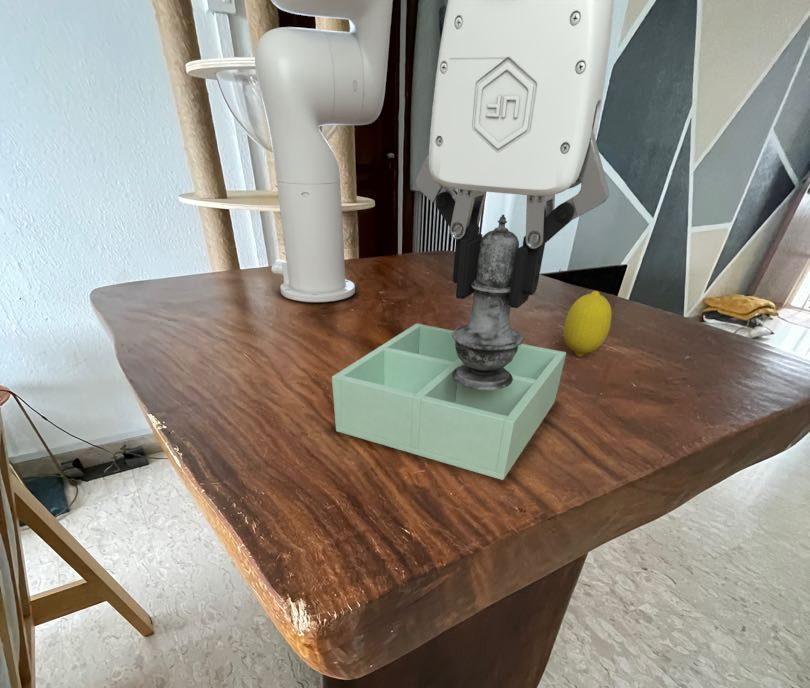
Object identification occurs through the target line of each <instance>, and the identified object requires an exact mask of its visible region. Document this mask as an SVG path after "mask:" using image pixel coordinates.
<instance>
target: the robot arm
mask: <svg viewBox="0 0 810 688" xmlns="http://www.w3.org/2000/svg"><path fill="white" fill-rule="evenodd" d="M393 1H394V0H270V2H271V3H272V4H273V5H274V6H275V7H276V8H278V9H279V10H281V11H283V12H287V13H288V14H289V13H290V14H294V15H299V16H300V15H301V16H307V17H315V18H316V17H317V18H328V19H337V20H338V19H339V20H348V21H349V31H340V30H339V31H338V30H327V29H321V28H320V29H319V28H307V27H295V26H285V27H284V26H282V27H275V28H273V29H270V30H268V31H266V32H265V33H264V34H263V35H262V36H261V37H260V38H259V40H258V41H257V44H256V47H255V52H254V66H255V75H256V79H257V84H258V88H259V93H260V97H261V100H262V105H263V108H264V114H265V118H266V121H267V127H268V132H269V138H270V144H271V149H272V157H273V164H274V172H275V179H276V187H277V196H278V203H279V205H278V206H279V212H280V220H281V229H282V237H283V244H284V253H285V259H280V258H279V259H278V258H277V259H275V261H274V263H273V265H271V273H272V274H273V275H281V276H282V277H283V282H282V283H281V284H280V286H279V288H280V294H281V295H282V296H283V297H284V298H286V299H289V300H291V301H296V302H302V303H330V302H338V301H341V300H346V299H348V298H351V297H352V296H353V295H354V294H355V293H356V285H355V283H354V282H353V281H351V280H349V279H346V266H345V265H346V264H345V245H344V226H343V208H342V191H341V187H342V186H341V172H340V171H341V170H340V165H339V161H338V158H337V156H336V153H335V151H334V150H333V148H332V146H331V145H330V144H329V142H328V141H327V138H326V137H325V136H324V134H323V133H322V131H321V129H320V127H322V126H364V125H365V126H366V125H369V124H373V123H374V122H375V121H376V120H377V119H378V118H379V116H380V115H381V112H382V109H383V106H384V101H385V100H384V99H385V94H386V83H387V74H388V73H387V72H388V61H389V51H390V49H389V48H390V37H391V36H390V35H391V25H392V13H393ZM614 5H615V0H447V3H446V9H445V14H444V20H443V21H444V22H443V25H442V31H441V39H440V44H439V51H438V58H437V64H436V65H437V66H436V73H435V81H434V82H435V83H434V91H433V99H432V111H431V120H430V121H431V122H430V132H429V149H428V153H427V155H426V157H425V159H424V161H423V163H422V165H421V166H420V168H419V171H418V173H417V174H416V176H415V187H416V188H417V189H418V190H419V191H420V192H421V193H422V194H423V195H424V196H425V198H427V199H428V200H429V201H430V202H431V203H433V204H434V205H436V208H437V210H438V211H439V213H440V215H441V216H442V218H443V220H444V221H445V222H446V224H447V225H448V227H449V232H450V233H449V234H450V236H451V237H452V238H453V239H454V240H455V244H454V245H455V246H454V247H455V248H454V256H453V257H454V259H453V268H452V269H453V271H452V281H453V283H454V284H456V290H455V298H456V299H460V300H464V299H466V298H468V297H469V296H471V295H473V294H474V289H473V288H472V287H471V283H472V282H473V281H474V280H476V276H477V267H478V258H479V248H480V242H481V239H482V237H483V234H482V233H480V228H481V227H480V222H481V218H482V213H483V210H484V206H485V200H486V196H487V193H495V194H496V193H497V194H508V195H509V194H510V195H519V196H521V195H522V196H526V207H525V208H526V209H525V211H526V212H525V213H526V214H525V235H524V236H523V238H522V239H523V240H522V245H521V246H519V248H518V249H517V251H516V256H515V263H514V269H513V276H512V283H511V289H510V296H509V305H510V306H511V308H513V309H519V308H520V307H521V306H523V304H525V303H526V302H527V301H528V300H529V297H530V296H534V295H535V294H536V292H537V289H538V284H539V280H540V274H541V268H542V264H543V258H544V252H545V247H546V244H547V242H549V241H550V240H551V239H552V238H554V236H555V235H557V234H558V233H559V232H560V231H561V230H562V229H563V228H564V227H566V226H567V225H568V224H570V223H571V222H572V221H574V220H575V219H577V218H579V217H581V216H582V215H584V214H587V213H588V212H590V211H592V210H593V209H596V208H597V207H599V206H601V205H602V204H604V203H605V202H607V200H608V199H609V196H610V190H609V186H608V182H607V177H606V174H605V170H604V166H603V163H602V159H601V155H600V152H599V148H598V144H597V139H596V138H597V132H598V127H599V121H600V114H601V107H602V103H603V96H604V88H605V82H606V76H607V75H606V74H607V69H608V68H607V67H608V60H609V53H610V46H611V37H612V27H613V18H614V17H613V16H614V7H615V6H614ZM579 185H580V190H579V191H578V193H577V194H576V195H574V196H572V197H571V198H569V199H567V200H566V201H564V202H562V203H560V204H559V205H557V206H555V205H556V195H558V194H560V193H563V192H566V191H567V190H569V189H573V188H575V187H577V186H579ZM455 189H456V190H457V191H456V190H455Z"/></svg>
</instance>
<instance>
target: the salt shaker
mask: <svg viewBox="0 0 810 688" xmlns="http://www.w3.org/2000/svg"><path fill="white" fill-rule="evenodd" d="M497 223H498V227H495V228H494V229H492V230H490V231H488V232H487V233H485V234H483V235H482V239H481V242H480V248H479V258H478V267H477V276H476V280H474V281H473V282H472V283H471V287H472V288H473V289H474V293H473V296H472V304H471V305H472V306H471V312H470V316H469V318H468V322H467V323H466V324H464V325H461V326H458V327H456V328H455V329H454V330H453V332H452V337H453V339H454V340H455V348H456V352H457V355H458V357H459V358H460V360H461V361H462V362H463V363H464V365H462V366H460V367H458V368H456V369H455V370H454V371H453V373H452V378H453V379H454V381H456V382H457V383H458V384H460V385H462V386H465V387H468V388H471V389H477V390H497V389H502V388H505V387H507V386H509V385H510V384H511V383H512V381H513V378H512V375H511V374H510V373H509V372H508V371H507V370H506V369H504V368H503V367H505V366H506V365H507V364H508V363H510V362H511V361H512V359H513V358H514V356H515V354H516V352H517V350H518V346H519V345H521V344H523V342H524V337H523V334H522V333H521V332H519V331H518V330H516V329H514V328H512V327H511V319H510V317H511V308H512V307H511V306H510V305H509V296H510V289H511V283H512V276H513V269H514V263H515V256H516V251H517V249H518V248H520V241H519V238H518V236H517V235H516V234H515V233H514V232H512V231H509V228H507V227H506V224H507V223H508V221H507V217H506V216H505V214H501V216H500V217H499V220H497Z"/></svg>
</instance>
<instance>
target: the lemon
mask: <svg viewBox="0 0 810 688" xmlns="http://www.w3.org/2000/svg"><path fill="white" fill-rule="evenodd" d="M611 323H612V306H611V304H610V302H609V300H608V299H607V298H605V296H603V295H602V294H601V293H600V292H599V291H598V290H592V291H591V292H590V293H586V294H584V295H582V296H580V297H579V298H578V299H576V300H575V301H574V303H573V304H572V305H571V306H570V308H569V310H568V312H567V315H566V317H565V321H564V325H563V339H564V342H565V344H566V346H567V347H568V348H569V349H570V350H571V351H573V352H574V353H575V356H577V357H579V358H581V357H583V356H584V355H586V354H588V353H592V352H594V351H596V350H598V348H600V347H601V346H602V344H603V343H604V342H605V341H606V339H607V337H608V335H609V332H610V330H611Z"/></svg>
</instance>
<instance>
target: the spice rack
mask: <svg viewBox="0 0 810 688" xmlns="http://www.w3.org/2000/svg"><path fill="white" fill-rule="evenodd" d="M453 331H454V330H453V329H447V328H441V327H437V326H432V325H426V324H422V323H418V322H417V323H414V324H413V325H411V326H410V327H408V328H407V329H405V330H404V331H401V332H400V333H399V334H397V335H396V336H393V338H391V339H389V340H388V341H386V342H384V343H383V344H382V345H379V346H378V347H376V348H375V349H374V350H372V351H370V352H368V353H367V354H366V355H364V356H362V357H361V358H358V360H356V361H354V362H353V363H351V364H350V365H347V366H346V367H345V368H343V369H342V370H340V371H339V372H337V373H335V374H334V375H332V376H331V385H332V397H333V409H334V412H333V413H334V421H335V422H334V423H335V431H336V432H338V433H340V434H344V435H347V436H352V437H354V438H358V439H361V440H365V441H368V442H371V443H375V444H378V445H381V446H384V447H389V448H392V449H395V450H399V451H402V452H406V453H409V454H412V455H416V456H419V457H423V458H426V459H429V460H432V461H436V462H440V463H442V464H446V465H450V466H453V467H456V468H459V469H464V470H467V471H470V472H474V473H477V474H480V475H484V476H488V477H491V478H494V479H498V480H501V481H504V479H505V478H506V477H507V475H508V474H509V472H510V470H511V469H512V468H513V466H514V464H515V463H516V462H517V460H518V458H519V457H520V455H521V454H522V452H523V451H524V449H525V448H526V446H527V445H528V444H529V442H530V440H531V438H532V437H533V436H534V434H535V433H536V431H537V430H538V428H539V427H540V425H541V424H542V423H543V421H544V420H545V418H546V416H547V415H548V413H549V412H550V410H551V409H552V407H553V406H554V404H555V402H556V397H557V394H558V390H559V385H560V381H561V378H562V373H563V369H564V365H565V361H566V357H567V352H566V351H561V350H556V349H551V348H547V347H546V348H545V347H541V346H535V345H529V344H525V343H522V344H521V345H519V346H518V350H517V352H516V354H515V356H514V358H513V359H512V361H511V362H510V363H508V364H507V365H506V366H505V367H503V368H504V369H506V370H507V371H508V372H509V373H510V374H511V375H512V378H513V381H512V383H511V384H510V385H509V386H507V387H505V388H502V389H497V390H477V389H471V388H468V387H465V386H462V385H460V384H458V383H457V382H456V381H454V379H453V378H452V373H453V371H454V370H455V369H456V368H458V367H460V366H462V365H464V363H463V362H462V361H461V360H460V358H459V357H458V355H457V352H456V348H455V340H454V339H453V337H452V332H453Z"/></svg>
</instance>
